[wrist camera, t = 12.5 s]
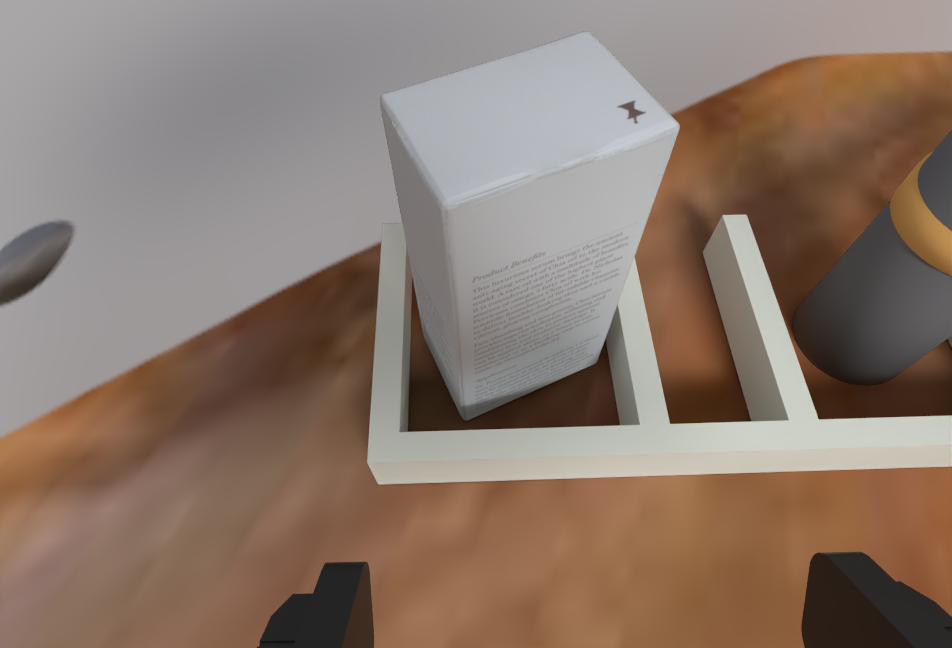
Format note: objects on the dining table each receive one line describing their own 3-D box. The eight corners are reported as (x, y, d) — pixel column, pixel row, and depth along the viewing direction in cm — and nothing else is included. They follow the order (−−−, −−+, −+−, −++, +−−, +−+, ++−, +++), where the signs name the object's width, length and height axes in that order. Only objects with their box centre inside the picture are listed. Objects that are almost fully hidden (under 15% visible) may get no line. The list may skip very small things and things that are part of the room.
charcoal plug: (881, 289, 25) (1088, 91, 17) (927, 386, 23) (1193, 213, 14) (776, 291, 25) (930, 95, 17) (810, 389, 23) (1009, 218, 14)
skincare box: (546, 286, 26) (594, 23, 15) (598, 366, 24) (692, 124, 13) (417, 338, 24) (373, 88, 14) (460, 427, 22) (445, 212, 12)
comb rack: (922, 246, 27) (961, 209, 24) (1038, 463, 21) (1100, 440, 19) (390, 260, 26) (382, 223, 24) (377, 484, 21) (367, 462, 19)
